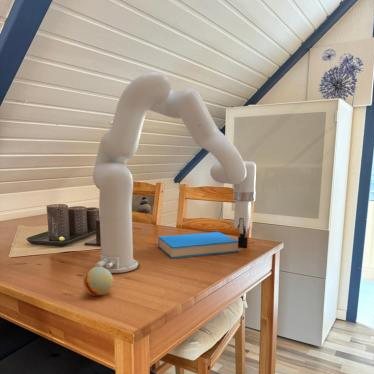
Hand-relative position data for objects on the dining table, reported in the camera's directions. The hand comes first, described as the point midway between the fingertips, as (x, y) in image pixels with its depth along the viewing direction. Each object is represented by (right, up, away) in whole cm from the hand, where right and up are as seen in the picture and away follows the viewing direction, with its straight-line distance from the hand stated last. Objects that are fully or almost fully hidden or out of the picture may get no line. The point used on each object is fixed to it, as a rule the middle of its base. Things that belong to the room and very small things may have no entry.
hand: (242, 247), depth 126 cm
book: (-16, -1, +3) cm, 17 cm away
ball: (-42, -8, -40) cm, 58 cm away
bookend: (-53, +1, +14) cm, 55 cm away
